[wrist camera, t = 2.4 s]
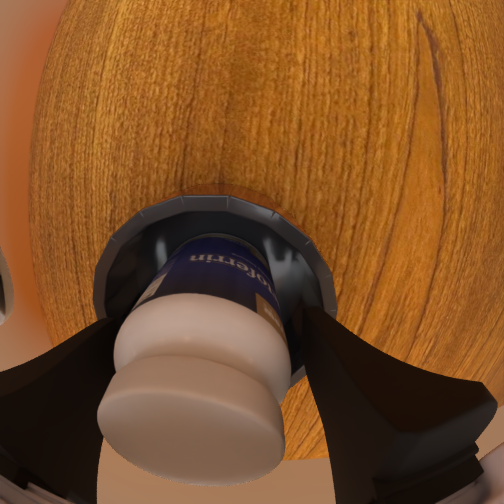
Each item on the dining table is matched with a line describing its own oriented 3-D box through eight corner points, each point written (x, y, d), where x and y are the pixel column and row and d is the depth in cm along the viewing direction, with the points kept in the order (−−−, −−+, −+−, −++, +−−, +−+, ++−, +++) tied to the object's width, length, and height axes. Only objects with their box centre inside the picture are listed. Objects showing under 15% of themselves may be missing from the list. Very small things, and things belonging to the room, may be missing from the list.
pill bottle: (293, 267, 14) (360, 430, 5) (235, 343, 16) (231, 502, 6) (197, 207, 13) (102, 321, 4) (148, 294, 15) (67, 441, 5)
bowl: (205, 374, 17) (197, 426, 13) (97, 256, 14) (56, 290, 10) (342, 298, 16) (371, 343, 11) (241, 142, 13) (241, 134, 8)
